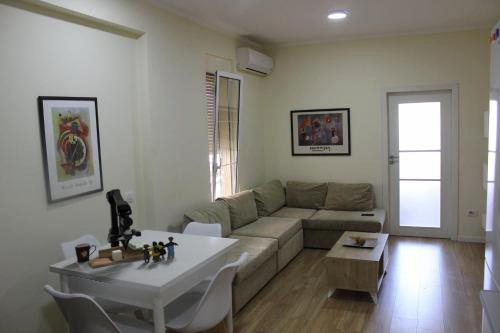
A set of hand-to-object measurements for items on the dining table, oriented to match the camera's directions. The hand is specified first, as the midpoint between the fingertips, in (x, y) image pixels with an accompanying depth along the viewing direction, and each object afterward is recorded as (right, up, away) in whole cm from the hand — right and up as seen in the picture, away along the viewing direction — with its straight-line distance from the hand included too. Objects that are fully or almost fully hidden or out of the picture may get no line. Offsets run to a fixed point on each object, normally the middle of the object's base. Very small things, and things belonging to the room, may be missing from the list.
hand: (125, 249), depth 249 cm
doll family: (+21, -6, 0) cm, 22 cm away
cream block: (-5, -7, +1) cm, 8 cm away
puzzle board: (-4, -7, +2) cm, 8 cm away
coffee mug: (-25, -8, +3) cm, 26 cm away
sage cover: (+6, 0, +8) cm, 11 cm away
